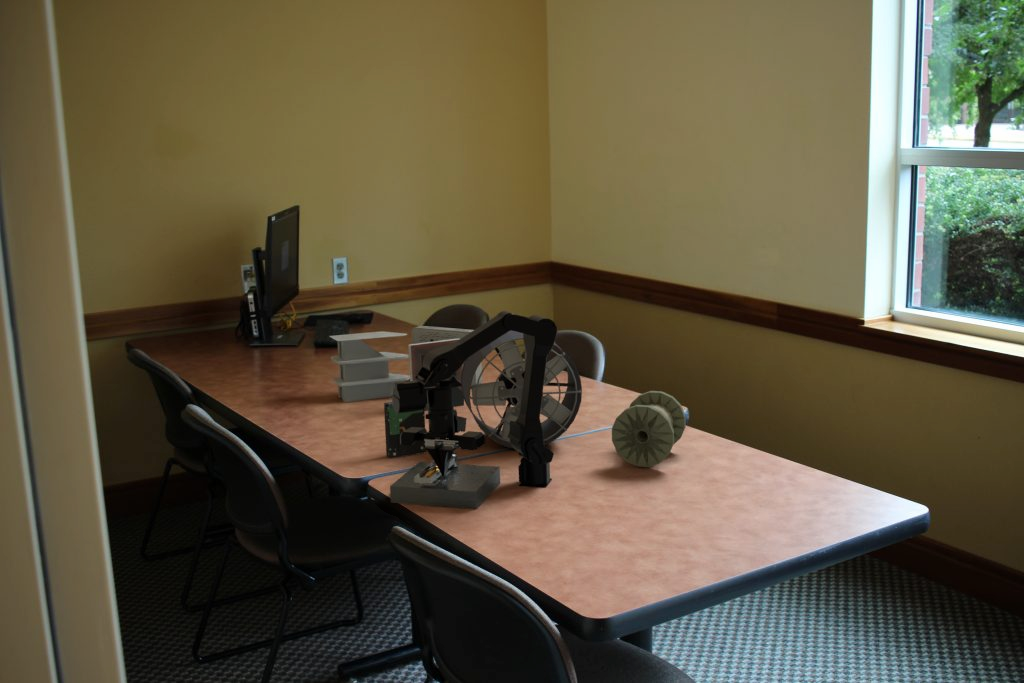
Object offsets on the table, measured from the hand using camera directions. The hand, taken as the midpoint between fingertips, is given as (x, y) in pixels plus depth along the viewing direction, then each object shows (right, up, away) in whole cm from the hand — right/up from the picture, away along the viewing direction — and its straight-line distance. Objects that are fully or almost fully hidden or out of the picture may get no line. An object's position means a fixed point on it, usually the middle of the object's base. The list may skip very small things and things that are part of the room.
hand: (444, 475), depth 222 cm
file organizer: (-29, +10, +92) cm, 97 cm away
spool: (+50, +1, +27) cm, 56 cm away
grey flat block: (0, -5, +4) cm, 6 cm away
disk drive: (-12, 0, +33) cm, 35 cm away
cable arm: (-2, 0, +4) cm, 4 cm away
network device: (-6, +14, +109) cm, 111 cm away
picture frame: (-7, +8, +78) cm, 79 cm away
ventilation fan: (+18, +3, +43) cm, 47 cm away
